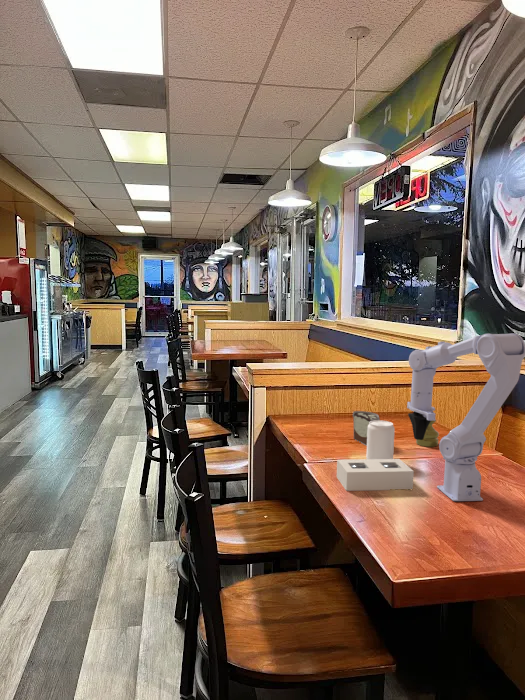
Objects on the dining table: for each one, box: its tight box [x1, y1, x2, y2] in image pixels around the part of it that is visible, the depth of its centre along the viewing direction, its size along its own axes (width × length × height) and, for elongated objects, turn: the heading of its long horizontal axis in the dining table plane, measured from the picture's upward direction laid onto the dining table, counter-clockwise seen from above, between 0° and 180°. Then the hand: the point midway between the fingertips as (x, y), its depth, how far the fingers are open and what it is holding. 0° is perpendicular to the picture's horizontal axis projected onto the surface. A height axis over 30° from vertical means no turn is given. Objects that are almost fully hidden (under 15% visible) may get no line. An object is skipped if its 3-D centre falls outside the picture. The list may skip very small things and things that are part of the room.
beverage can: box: [365, 419, 396, 459], centre depth 154 cm, size 8×8×12 cm
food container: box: [352, 410, 381, 447], centre depth 174 cm, size 12×6×10 cm, turn 22°
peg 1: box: [351, 463, 366, 469], centre depth 135 cm, size 4×4×4 cm
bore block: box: [336, 458, 415, 492], centre depth 136 cm, size 10×18×5 cm, turn 96°
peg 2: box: [383, 463, 398, 468], centre depth 136 cm, size 4×4×4 cm
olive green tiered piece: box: [415, 418, 440, 448], centre depth 174 cm, size 7×8×10 cm
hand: (418, 438), depth 143 cm, fingers closed
